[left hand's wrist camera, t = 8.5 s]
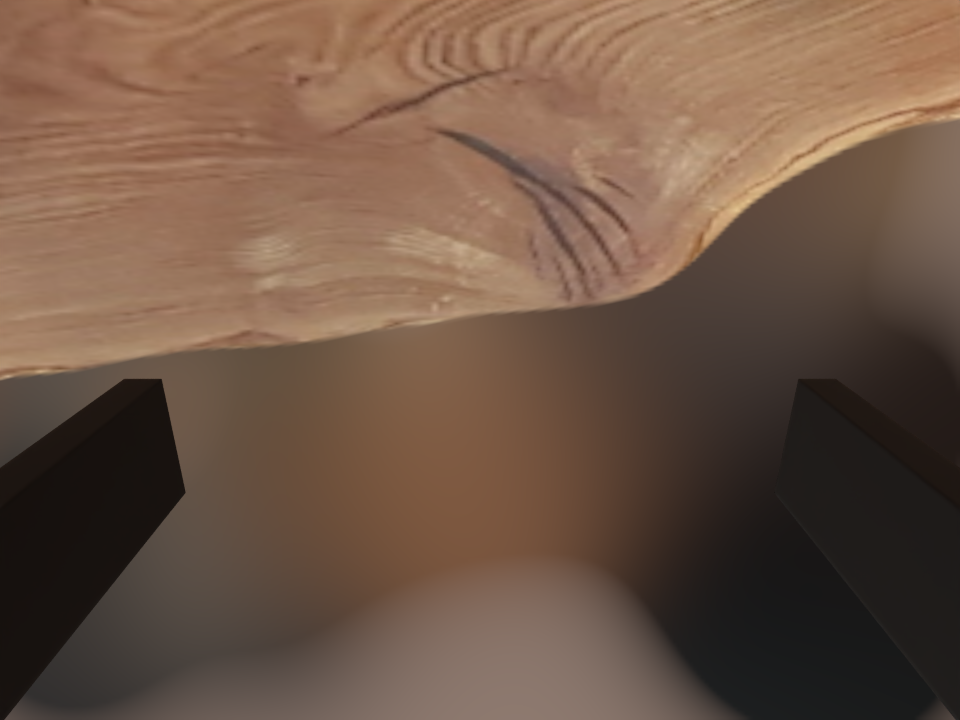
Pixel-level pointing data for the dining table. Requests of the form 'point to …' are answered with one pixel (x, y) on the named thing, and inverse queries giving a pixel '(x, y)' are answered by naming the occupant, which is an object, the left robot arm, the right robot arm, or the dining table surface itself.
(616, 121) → the dining table surface
